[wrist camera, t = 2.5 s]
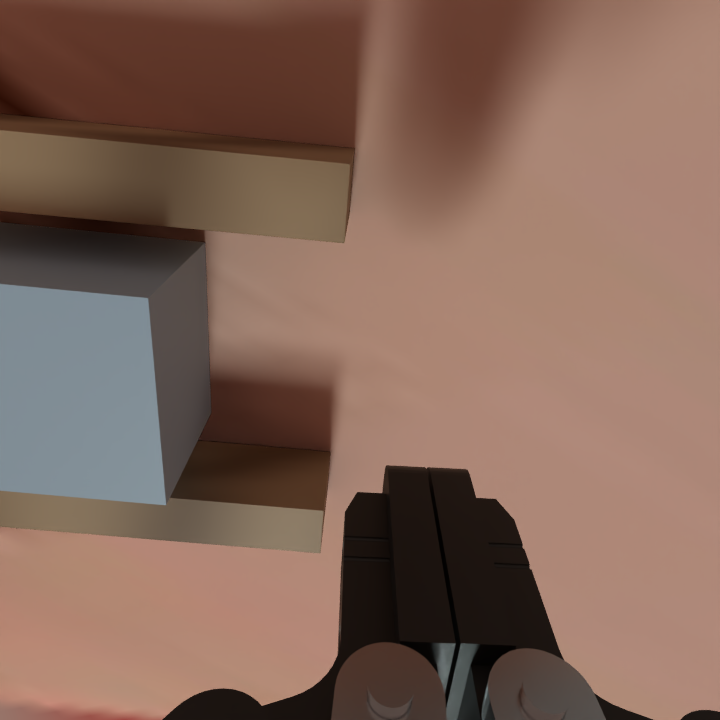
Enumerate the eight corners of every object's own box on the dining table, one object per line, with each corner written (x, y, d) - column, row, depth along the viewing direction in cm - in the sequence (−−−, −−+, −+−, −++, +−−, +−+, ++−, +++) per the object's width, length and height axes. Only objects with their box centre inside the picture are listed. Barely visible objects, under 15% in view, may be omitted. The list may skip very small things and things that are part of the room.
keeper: (206, 241, 14) (147, 298, 10) (212, 410, 16) (166, 505, 12) (4, 220, 14) (-127, 271, 10) (38, 393, 16) (-58, 485, 12)
